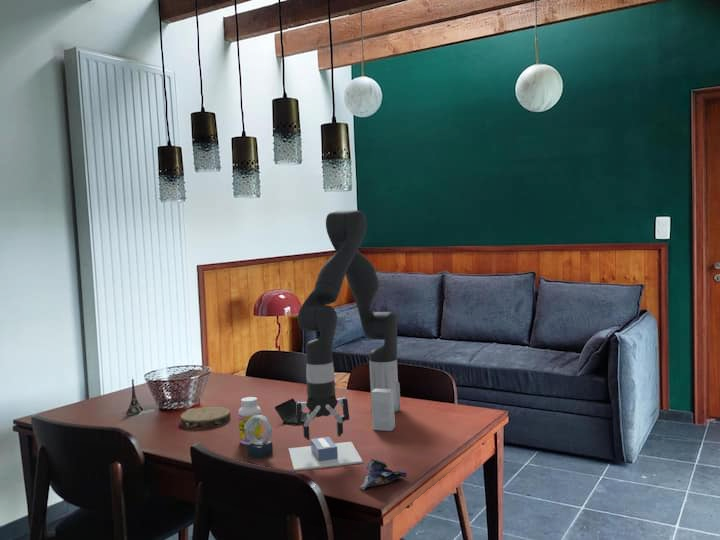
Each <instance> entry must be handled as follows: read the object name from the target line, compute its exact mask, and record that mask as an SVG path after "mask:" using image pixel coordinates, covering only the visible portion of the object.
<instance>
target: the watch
mask: <svg viewBox="0 0 720 540" xmlns="http://www.w3.org/2000/svg"><path fill="white" fill-rule="evenodd" d="M260 420H261V421H262V423H263V425H264V426H265V432H264V436H263V437H262V440H258V439H257V438H256V437H255V436H254V434H253V432H254V431H255V428H256V427H257V426H258V424H259V422H260ZM271 423H272V422H271V421H270V419H269V418H268V417H267V416H265V415H264V414H261V415H257V416H256V415H254V416H252V417H251V418H250V419H249V420H248V421H247V422H246V424H245V426H244V429H245V432H246V435H247V437H248V439H250V441H251V442H252V444H250V445H246V447H247V448H246V449H247V457H248V458H252V459H257V460H261V459H263V458H265V457H267V456H269V455H271V454H273V453H274V451H273V449H274V448H273V441H270V439H271V437H272V433H273V426H272V424H271Z"/></svg>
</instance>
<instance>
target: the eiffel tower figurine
mask: <svg viewBox="0 0 720 540" xmlns="http://www.w3.org/2000/svg"><path fill="white" fill-rule="evenodd" d="M134 381H135V380H134V377H133V376H132V379H131V388H132V389H131V398H130V399H131V401H130V404H129V406H128V409H127V410H126V413H125V416H127V415H128V416H129V415H131V417H129V419H133V417H132V415H135V416H134V417H138V416H139V417H140V416H142V415H147V414H151V413H153V412H155V411H156V409H154V408H152V405H146V407H148V408H151V409H146V410H145V409H144V408H143V407H142V406H141V404H140V402H139V400H138V399H137V395H136V390H135V383H134ZM133 409H134V410H133ZM127 419H128V417H121V418H120V419H119V420H121V421H123V420H127Z"/></svg>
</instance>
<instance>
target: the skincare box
mask: <svg viewBox="0 0 720 540" xmlns="http://www.w3.org/2000/svg"><path fill="white" fill-rule="evenodd" d="M371 399H372V410H371V414H372V415H371V417H372V431H387V432H392V431H393V430H394V429H395V427H396V422H395V421H396V419H395V412H394V396H393V389H374V390H373V391H371V390H370V400H371Z"/></svg>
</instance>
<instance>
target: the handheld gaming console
mask: <svg viewBox="0 0 720 540" xmlns="http://www.w3.org/2000/svg"><path fill="white" fill-rule="evenodd" d="M296 402H297V401H296V400H295V399H294V398H290V399H288V400H286V401H284V402H282V403H279V404H278V405H276V406H275V407H274V410H275V411H276V413H277V414H278V416H279V417H280V419H281V420H282V421H283V424H284V425H290V424H294V425H293V426H298V425H297V422H296ZM303 411H304V410H302V411H301V419H302V420H304V419H305V417H306V416H307V413H308V412H303ZM312 416H313V415H312Z"/></svg>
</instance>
